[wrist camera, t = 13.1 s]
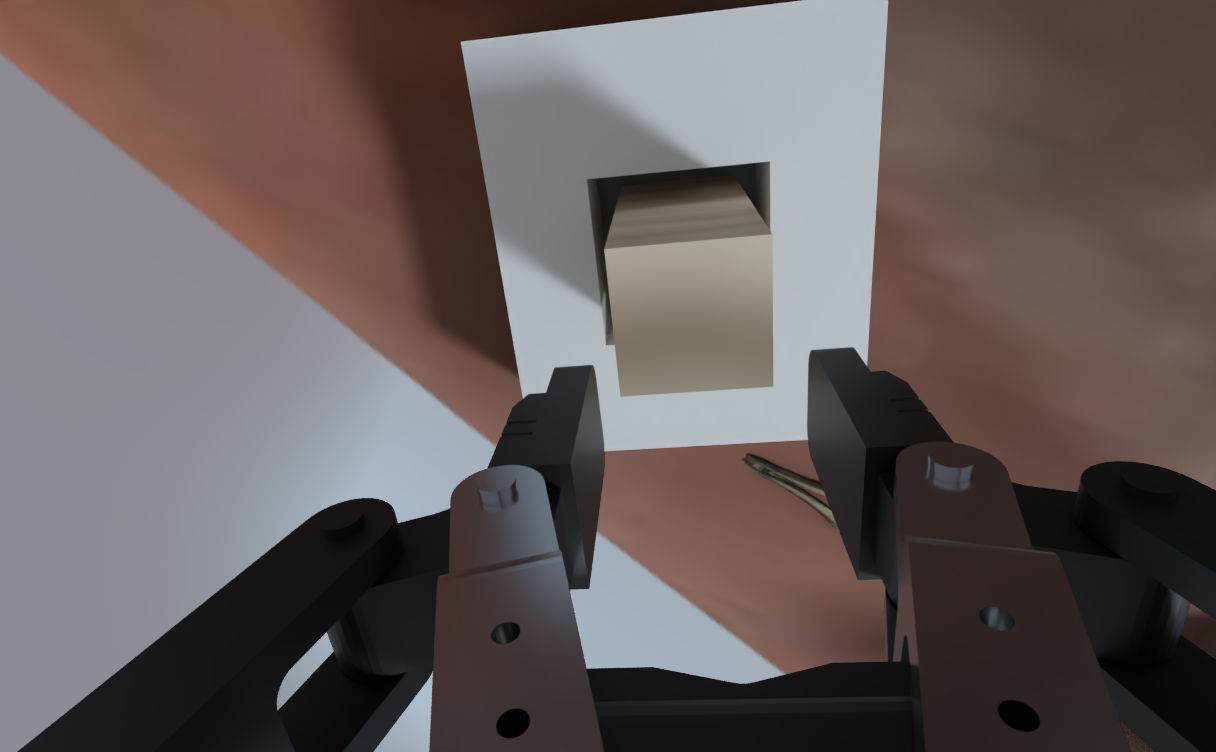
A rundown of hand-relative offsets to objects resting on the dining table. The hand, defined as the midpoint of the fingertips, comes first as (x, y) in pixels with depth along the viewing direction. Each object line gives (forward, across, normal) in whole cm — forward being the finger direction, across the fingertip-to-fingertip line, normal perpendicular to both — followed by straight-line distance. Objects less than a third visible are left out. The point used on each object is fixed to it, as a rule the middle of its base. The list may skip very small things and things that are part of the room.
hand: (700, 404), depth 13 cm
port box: (+15, 0, 0) cm, 15 cm away
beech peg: (+14, 0, 0) cm, 14 cm away
